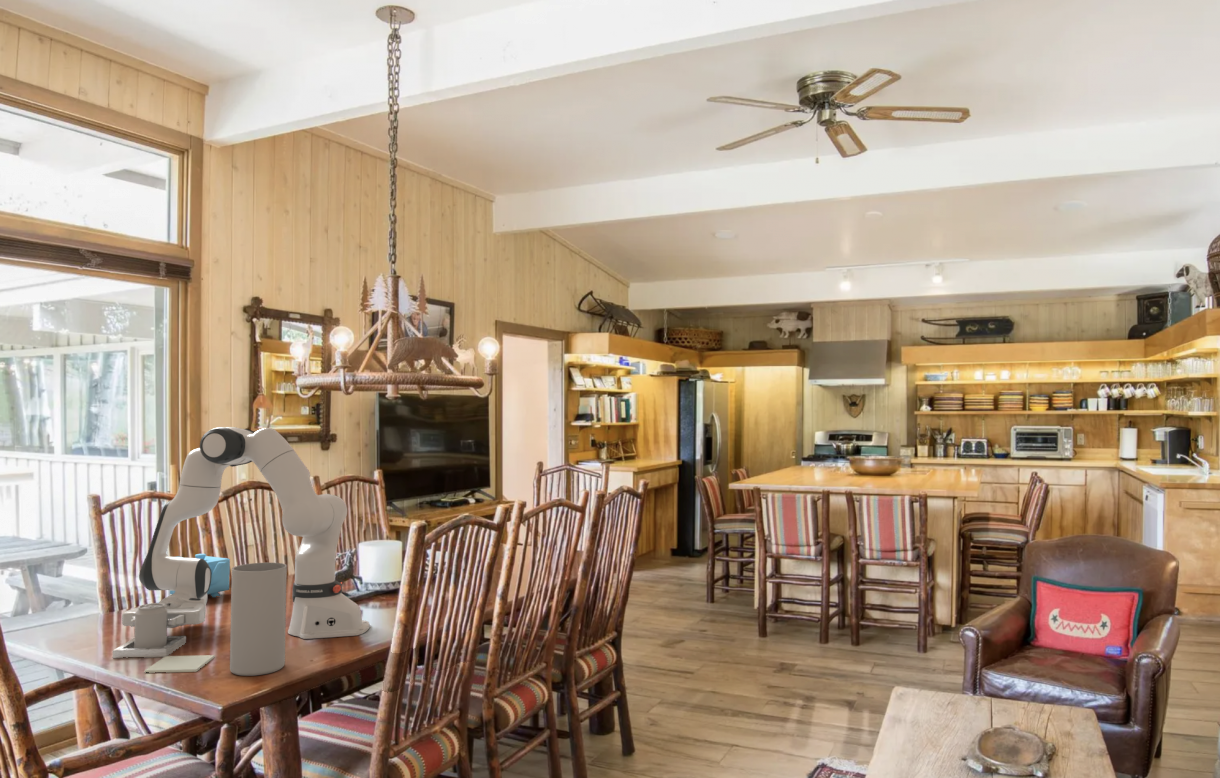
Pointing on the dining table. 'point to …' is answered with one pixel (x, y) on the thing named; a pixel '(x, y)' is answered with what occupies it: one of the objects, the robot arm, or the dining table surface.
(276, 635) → the cylinder vase
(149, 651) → the square picture frame
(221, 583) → the teakettle
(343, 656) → the dining table surface
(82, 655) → the dining table surface
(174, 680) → the dining table surface
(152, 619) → the can
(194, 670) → the tile
